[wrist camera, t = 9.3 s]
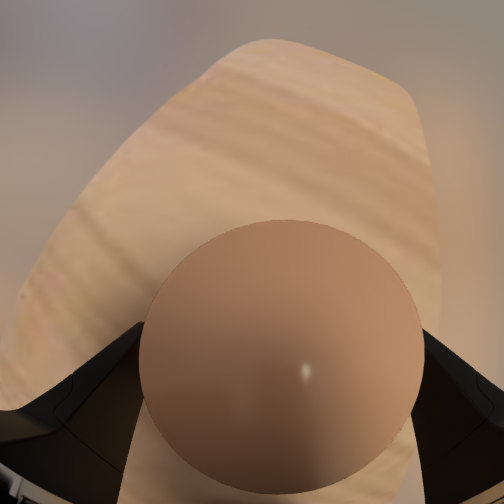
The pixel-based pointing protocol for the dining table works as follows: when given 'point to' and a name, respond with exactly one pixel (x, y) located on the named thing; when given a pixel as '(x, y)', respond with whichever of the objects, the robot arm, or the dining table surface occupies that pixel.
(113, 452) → the robot arm
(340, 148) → the dining table surface
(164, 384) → the tan tapered cylinder
